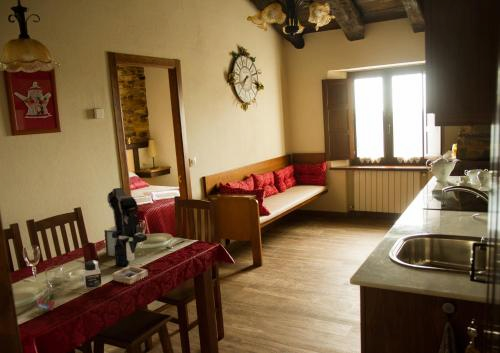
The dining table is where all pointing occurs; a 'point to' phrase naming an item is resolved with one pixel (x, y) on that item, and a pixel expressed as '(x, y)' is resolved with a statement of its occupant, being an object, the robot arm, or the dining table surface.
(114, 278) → the crate
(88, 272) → the medicine bottle
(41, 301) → the geometric puzzle
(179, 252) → the dining table surface
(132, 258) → the peg
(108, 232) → the protein box
